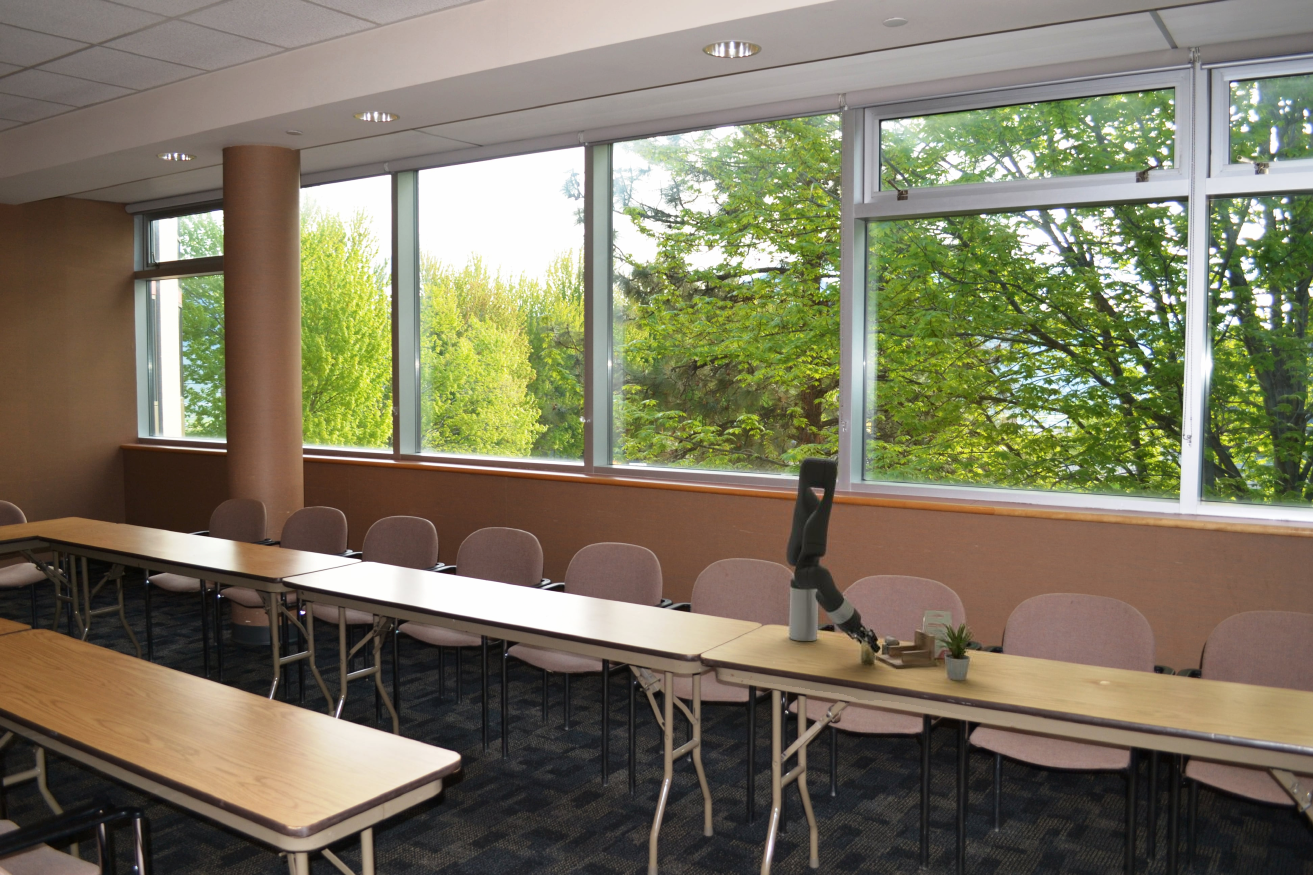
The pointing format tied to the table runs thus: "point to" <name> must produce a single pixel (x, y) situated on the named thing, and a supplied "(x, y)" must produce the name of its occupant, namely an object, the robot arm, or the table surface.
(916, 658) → the cradle
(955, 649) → the house plant
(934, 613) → the ink cartridge box
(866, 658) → the spacer
